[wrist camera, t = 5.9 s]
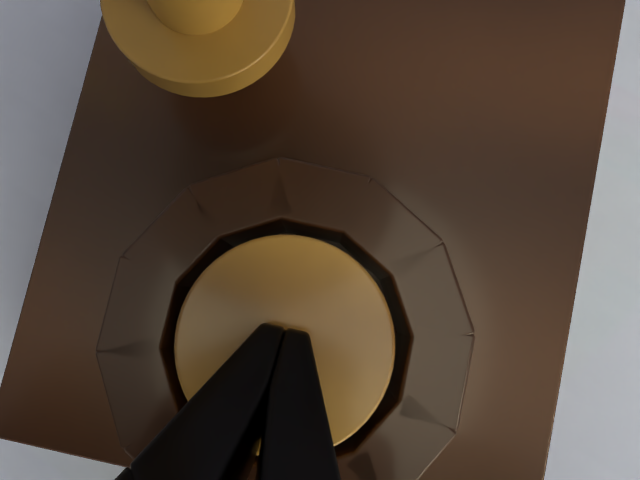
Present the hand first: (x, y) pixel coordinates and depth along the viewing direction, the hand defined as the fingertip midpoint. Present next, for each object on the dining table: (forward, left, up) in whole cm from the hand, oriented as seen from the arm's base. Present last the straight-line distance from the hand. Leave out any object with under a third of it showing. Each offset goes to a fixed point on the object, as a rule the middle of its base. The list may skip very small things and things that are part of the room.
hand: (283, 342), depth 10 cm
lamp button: (0, 0, -2) cm, 2 cm away
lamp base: (+2, +2, -8) cm, 8 cm away
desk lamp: (+2, +6, -1) cm, 7 cm away
